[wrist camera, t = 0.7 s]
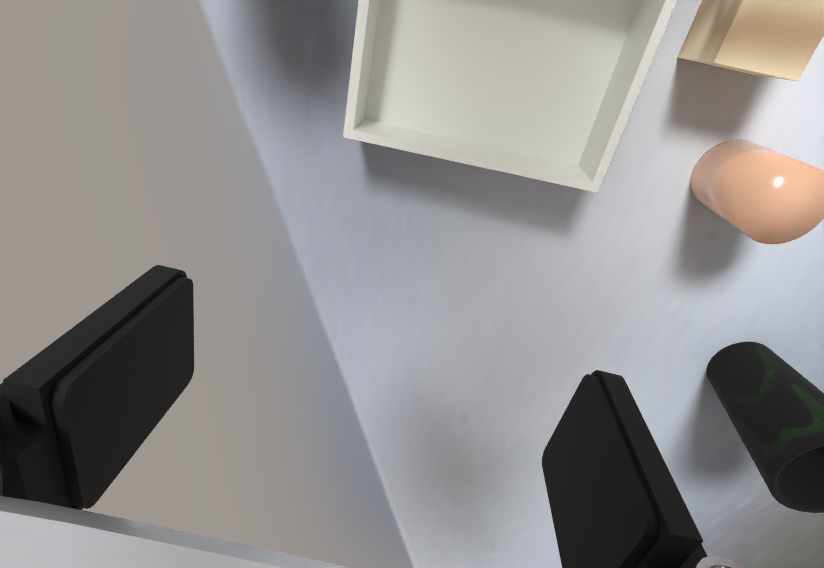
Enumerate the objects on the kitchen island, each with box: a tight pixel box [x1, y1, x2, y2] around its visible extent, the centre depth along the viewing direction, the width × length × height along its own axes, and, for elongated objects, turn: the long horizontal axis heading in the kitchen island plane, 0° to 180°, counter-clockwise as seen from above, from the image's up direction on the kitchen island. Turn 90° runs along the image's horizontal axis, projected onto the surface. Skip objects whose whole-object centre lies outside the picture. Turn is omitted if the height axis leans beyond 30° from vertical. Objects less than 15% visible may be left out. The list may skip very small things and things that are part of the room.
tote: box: [343, 0, 677, 193], centre depth 29 cm, size 13×17×5 cm
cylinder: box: [690, 140, 824, 244], centre depth 31 cm, size 5×5×7 cm
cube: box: [677, 0, 824, 81], centre depth 27 cm, size 5×5×5 cm
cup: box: [707, 342, 824, 513], centre depth 37 cm, size 8×8×12 cm
